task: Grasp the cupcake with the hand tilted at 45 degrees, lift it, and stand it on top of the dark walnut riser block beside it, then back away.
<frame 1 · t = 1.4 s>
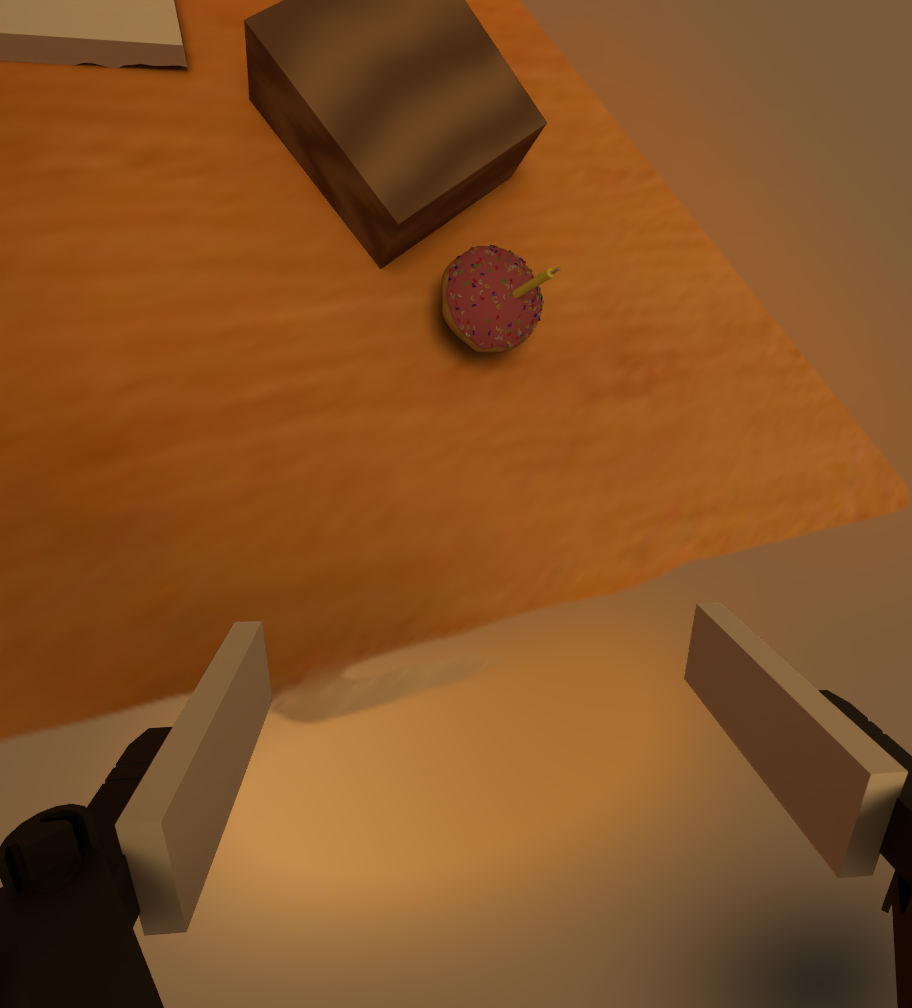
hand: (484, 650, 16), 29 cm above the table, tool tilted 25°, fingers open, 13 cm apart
riser: (390, 141, 46), on the table
cupcake: (471, 321, 48), on the table
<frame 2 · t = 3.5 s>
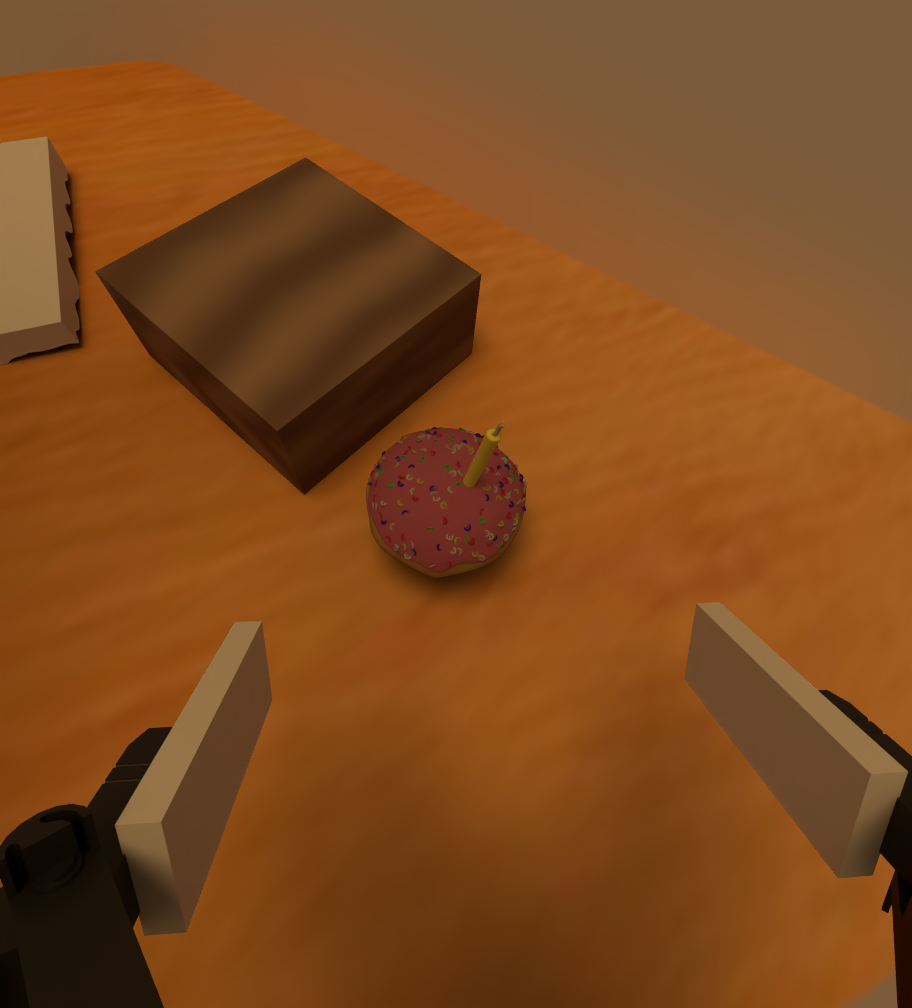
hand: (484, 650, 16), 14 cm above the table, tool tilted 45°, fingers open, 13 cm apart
riser: (314, 354, 38), on the table
cupcake: (442, 533, 33), on the table
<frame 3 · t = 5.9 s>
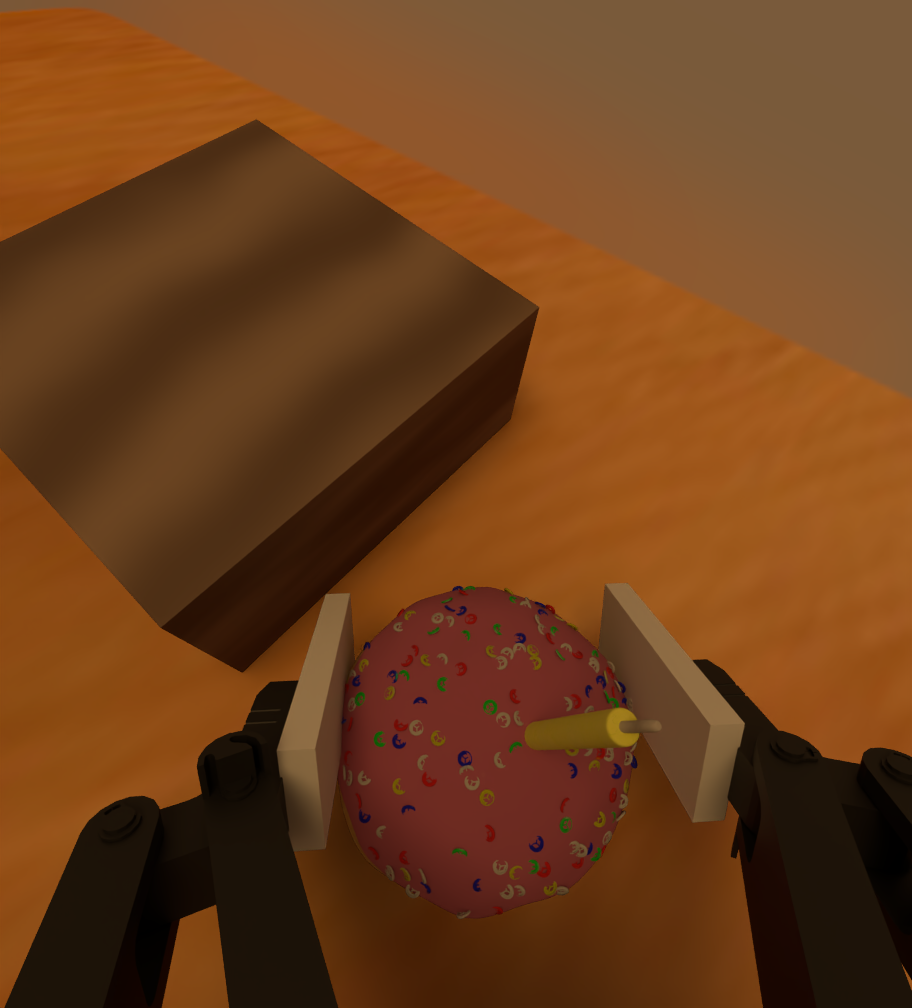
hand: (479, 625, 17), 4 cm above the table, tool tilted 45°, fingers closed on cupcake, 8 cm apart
riser: (271, 422, 25), on the table
cupcake: (468, 741, 20), on the table, touching gripper
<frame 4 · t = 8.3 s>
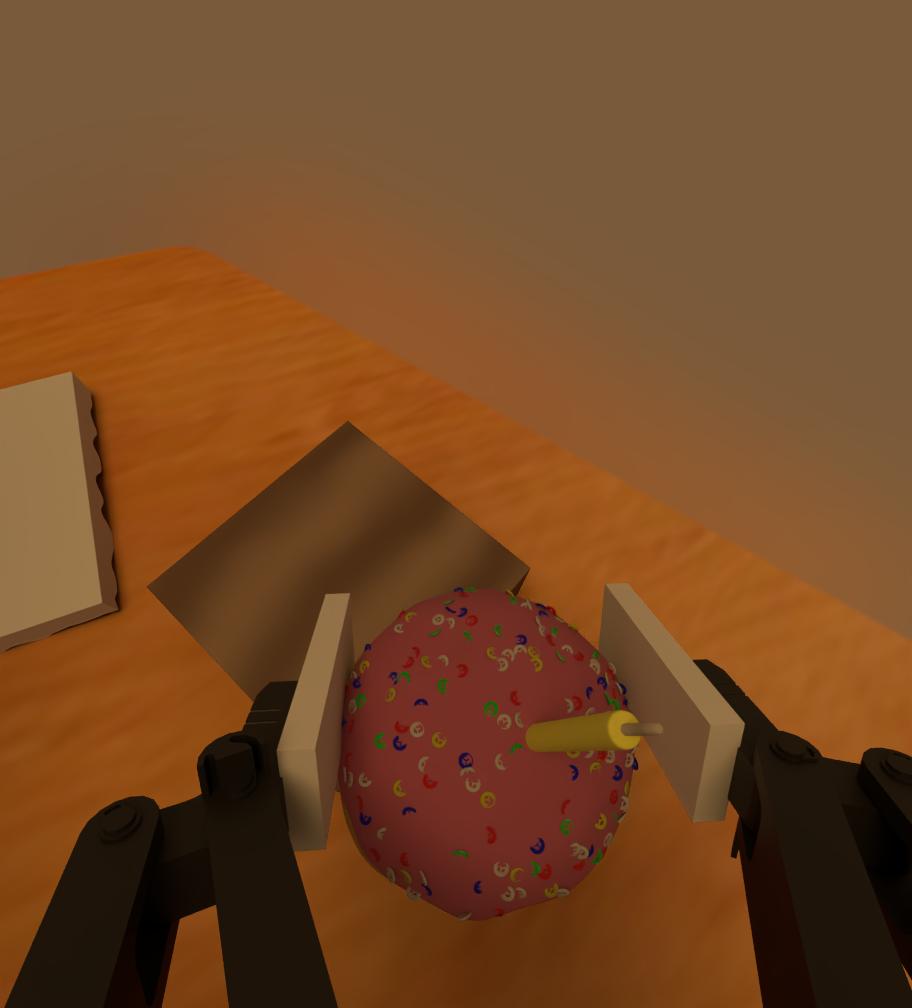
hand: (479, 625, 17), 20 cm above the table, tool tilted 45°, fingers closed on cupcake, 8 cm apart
riser: (357, 609, 38), on the table
cupcake: (469, 743, 20), point 16 cm above the table, touching gripper
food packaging: (6, 528, 40), on the table
when the fingers open (12 cm above the table, at t = 11.0 s): cupcake drops 1 cm, resting on riser.
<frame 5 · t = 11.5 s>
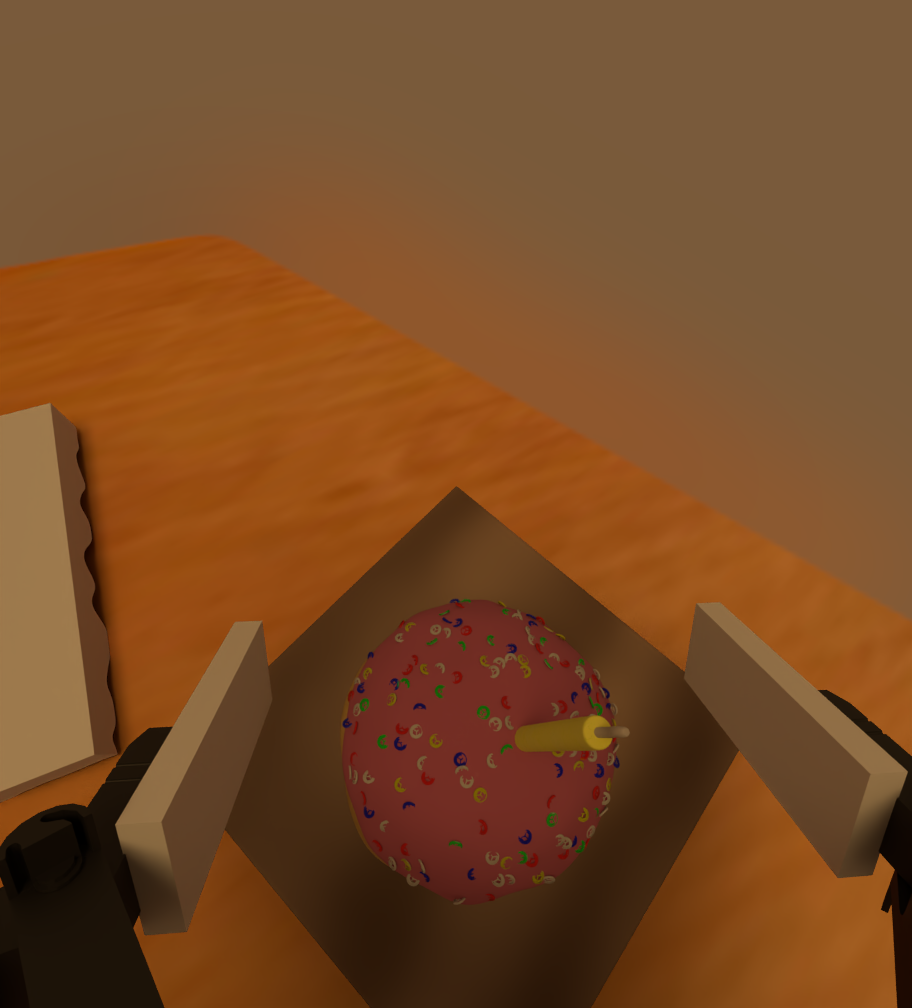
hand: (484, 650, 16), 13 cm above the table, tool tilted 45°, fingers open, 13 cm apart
riser: (461, 749, 27), on the table
cupcake: (465, 742, 21), point 7 cm above the table, touching riser
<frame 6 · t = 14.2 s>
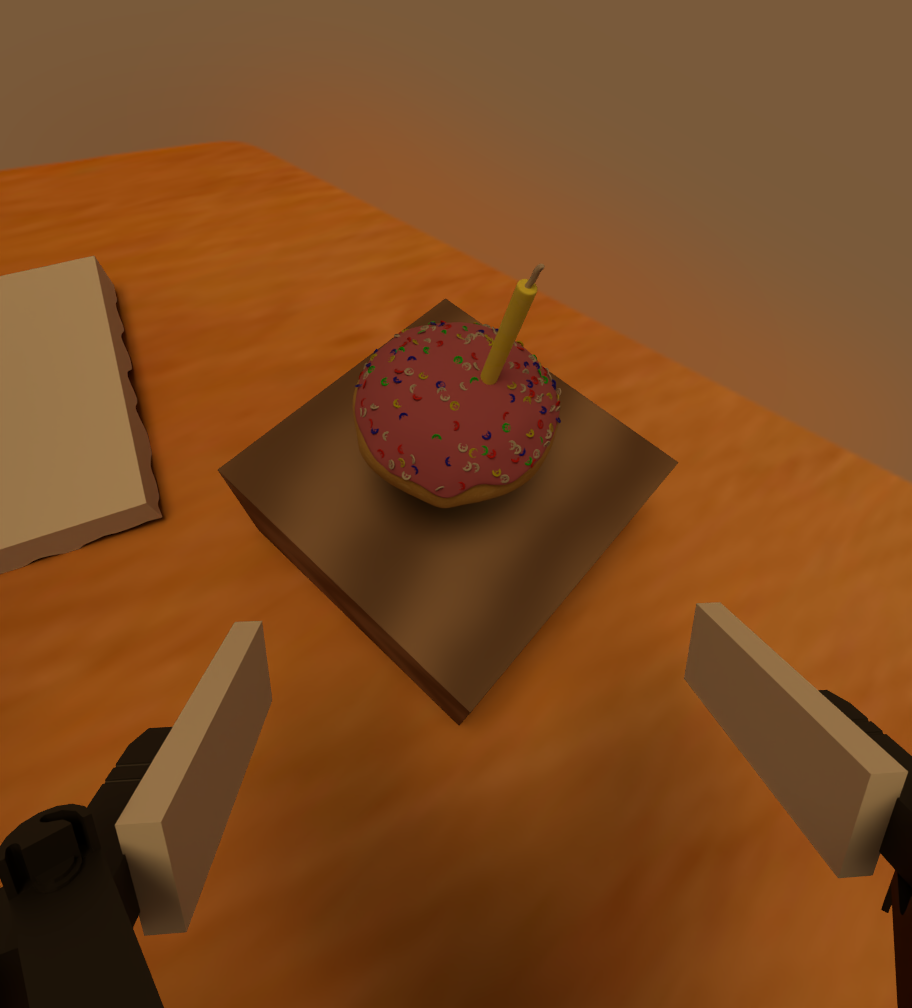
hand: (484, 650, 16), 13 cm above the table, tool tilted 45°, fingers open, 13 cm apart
riser: (448, 524, 32), on the table
cupcake: (450, 467, 26), point 7 cm above the table, touching riser
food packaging: (21, 433, 34), on the table
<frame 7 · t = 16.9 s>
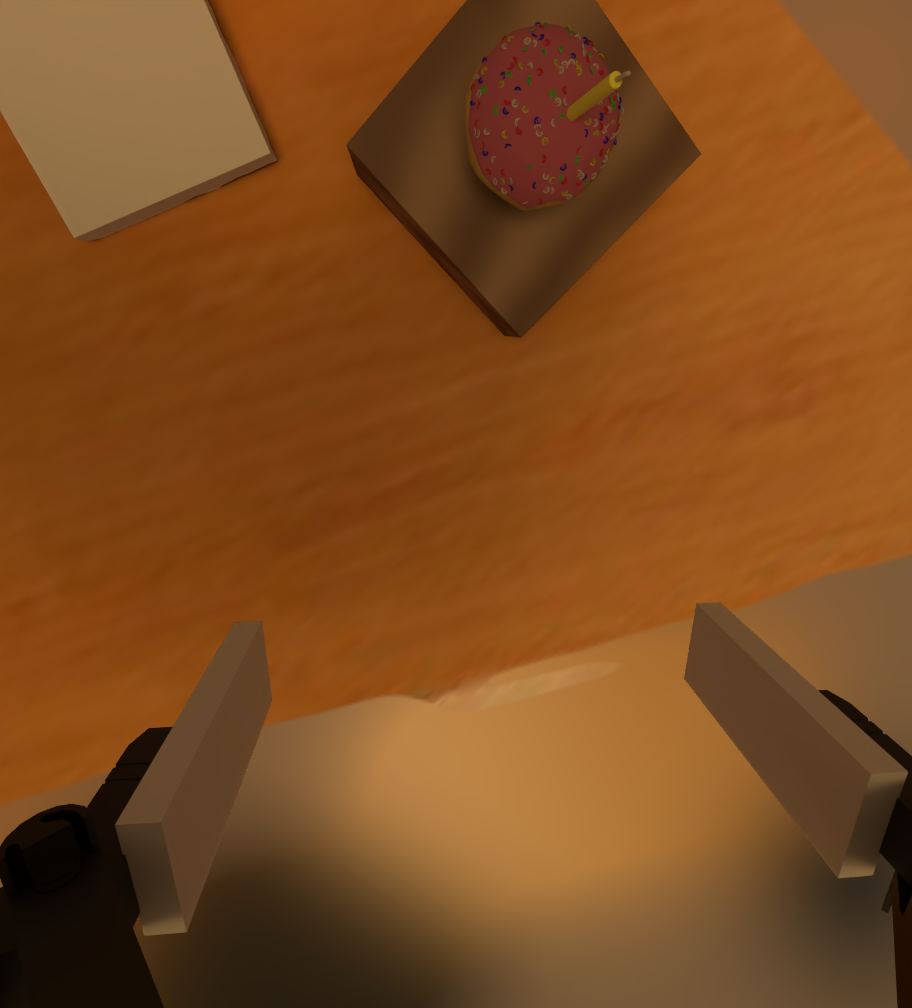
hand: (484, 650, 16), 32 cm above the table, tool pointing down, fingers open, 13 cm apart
riser: (509, 178, 40), on the table
cupcake: (523, 149, 34), point 7 cm above the table, touching riser
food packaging: (113, 50, 37), on the table
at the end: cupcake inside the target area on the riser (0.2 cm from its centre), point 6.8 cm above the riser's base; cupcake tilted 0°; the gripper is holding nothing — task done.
